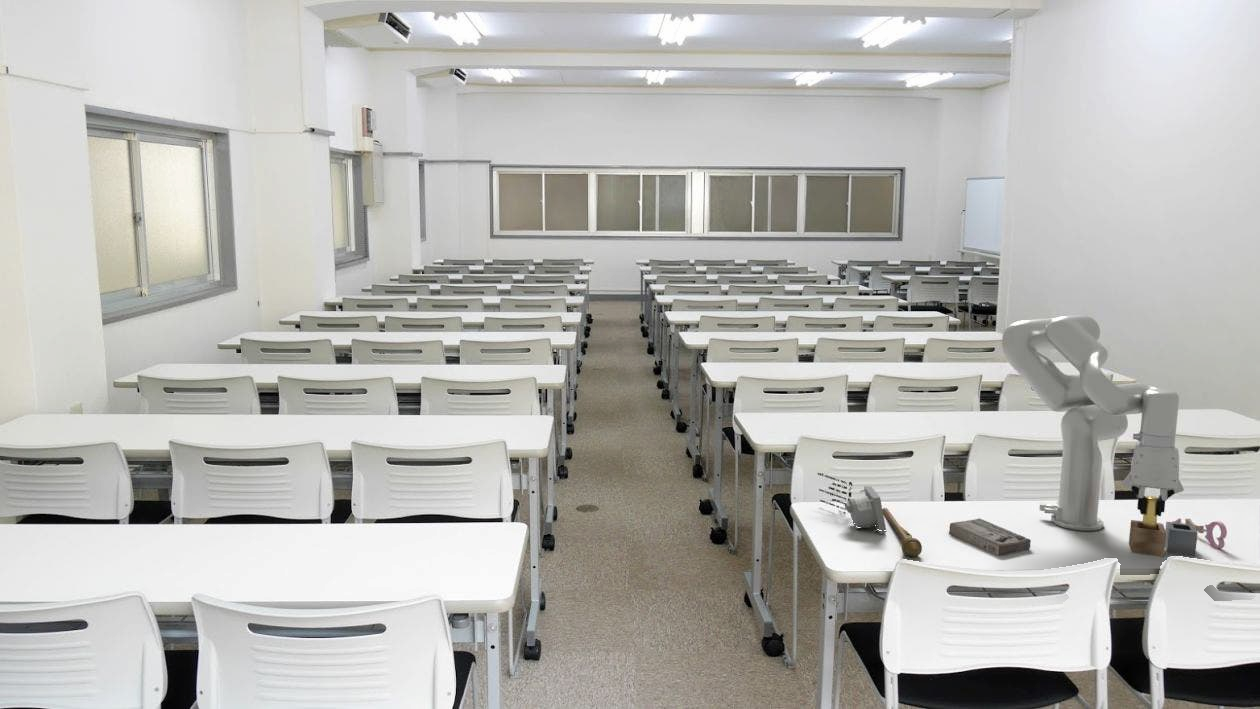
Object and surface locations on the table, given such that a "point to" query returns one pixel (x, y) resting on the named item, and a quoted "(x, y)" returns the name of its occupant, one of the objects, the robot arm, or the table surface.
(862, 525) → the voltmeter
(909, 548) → the brown rod with knob
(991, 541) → the box
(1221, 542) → the decorative key
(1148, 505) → the brass bar
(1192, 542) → the socket block
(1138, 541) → the brown open box
